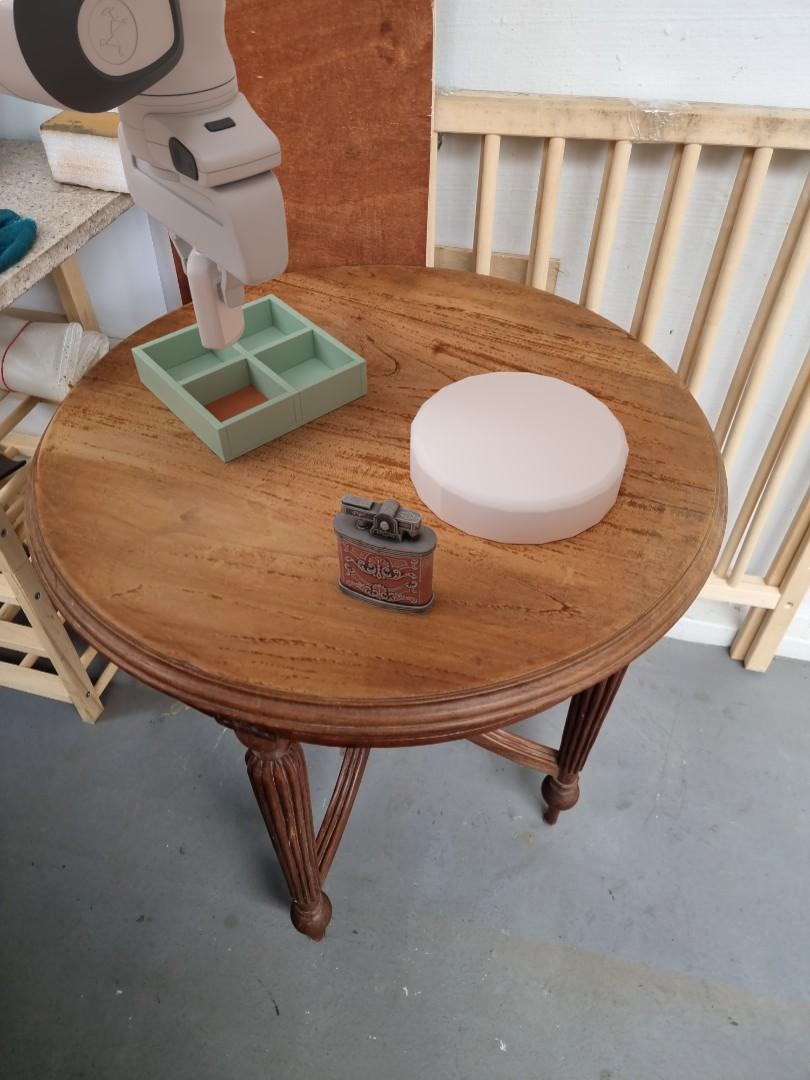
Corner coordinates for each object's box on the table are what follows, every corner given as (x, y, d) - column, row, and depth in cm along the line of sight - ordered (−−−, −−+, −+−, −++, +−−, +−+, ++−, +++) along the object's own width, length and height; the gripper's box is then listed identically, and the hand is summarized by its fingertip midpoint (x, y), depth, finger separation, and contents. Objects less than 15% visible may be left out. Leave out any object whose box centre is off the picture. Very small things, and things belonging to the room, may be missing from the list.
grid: (225, 463, 74) (217, 429, 71) (140, 381, 83) (130, 348, 80) (367, 393, 82) (366, 360, 79) (276, 325, 91) (271, 293, 88)
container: (546, 385, 83) (552, 347, 80) (664, 502, 71) (678, 464, 67) (375, 436, 77) (374, 398, 74) (472, 574, 65) (476, 535, 61)
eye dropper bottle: (263, 330, 72) (243, 201, 63) (216, 357, 69) (189, 224, 60) (231, 314, 74) (208, 186, 65) (184, 339, 71) (154, 209, 62)
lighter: (439, 590, 64) (443, 502, 56) (426, 621, 61) (429, 534, 54) (348, 565, 65) (341, 477, 58) (332, 595, 63) (323, 507, 56)
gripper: (83, 92, 62) (127, 257, 72) (215, 172, 51) (246, 352, 61) (154, 76, 65) (188, 236, 75) (294, 148, 54) (311, 324, 64)
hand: (215, 289), depth 68 cm, fingers closed on eye dropper bottle, 4 cm apart
